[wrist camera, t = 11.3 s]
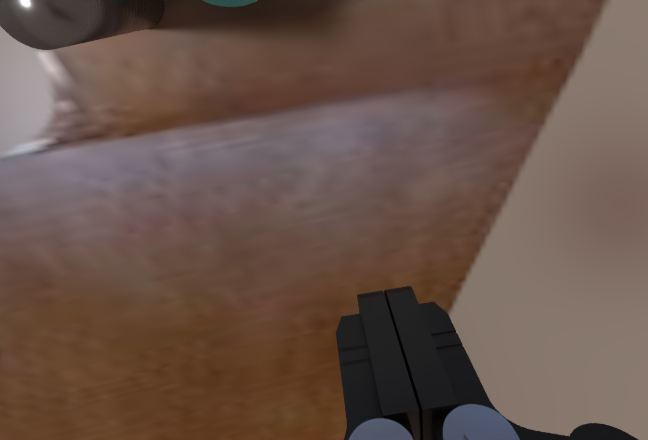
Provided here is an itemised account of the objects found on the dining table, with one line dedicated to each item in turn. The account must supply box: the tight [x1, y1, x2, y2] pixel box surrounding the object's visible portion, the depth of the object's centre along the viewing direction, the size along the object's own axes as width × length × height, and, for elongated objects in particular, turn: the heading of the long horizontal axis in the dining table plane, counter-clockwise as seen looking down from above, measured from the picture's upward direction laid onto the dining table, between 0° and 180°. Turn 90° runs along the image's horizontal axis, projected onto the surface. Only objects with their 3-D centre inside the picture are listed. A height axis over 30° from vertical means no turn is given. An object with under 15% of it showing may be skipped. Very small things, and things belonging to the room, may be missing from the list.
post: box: [0, 0, 164, 50], centre depth 16 cm, size 3×3×9 cm
